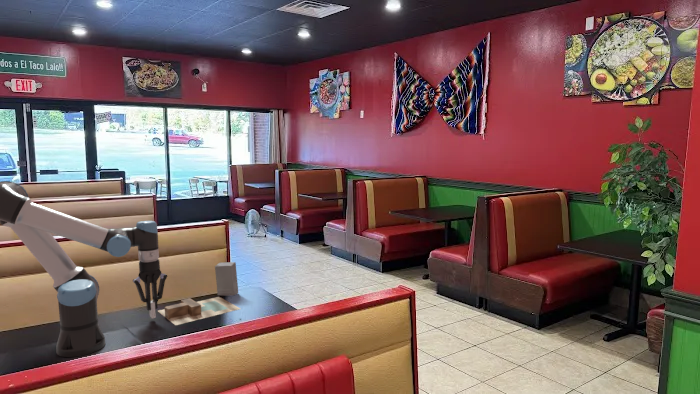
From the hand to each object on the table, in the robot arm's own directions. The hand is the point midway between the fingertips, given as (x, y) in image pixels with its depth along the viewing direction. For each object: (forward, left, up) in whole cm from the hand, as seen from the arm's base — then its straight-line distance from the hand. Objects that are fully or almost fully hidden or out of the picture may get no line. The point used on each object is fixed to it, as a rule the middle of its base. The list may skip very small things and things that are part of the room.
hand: (152, 317), depth 190 cm
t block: (+12, 0, -2) cm, 12 cm away
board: (+19, 0, -3) cm, 19 cm away
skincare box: (+38, +13, -3) cm, 40 cm away
